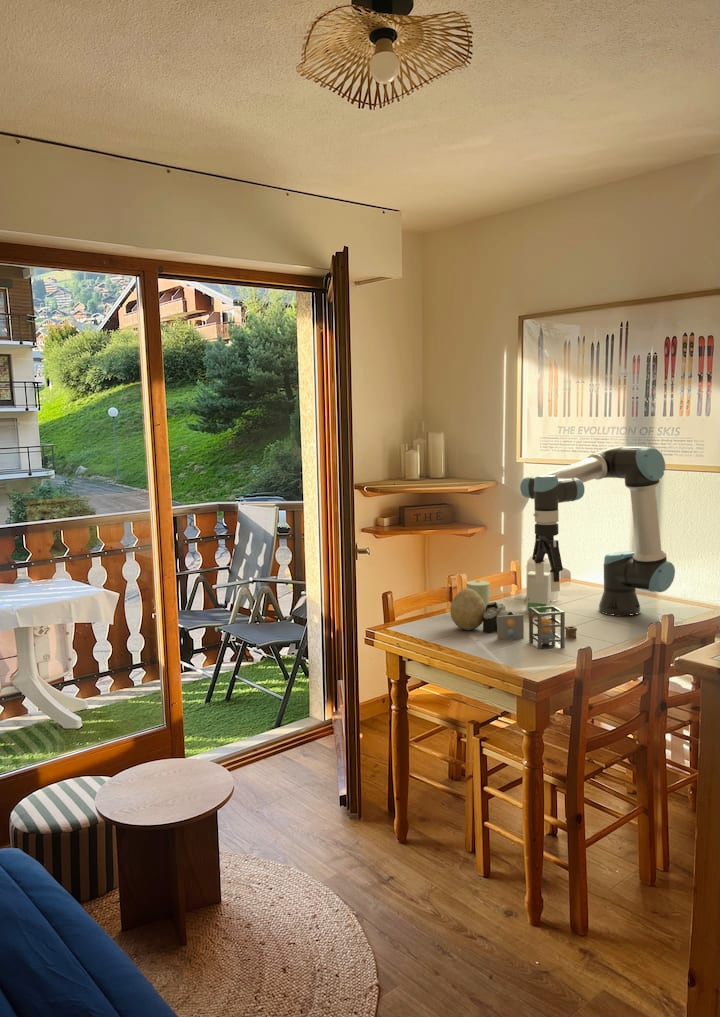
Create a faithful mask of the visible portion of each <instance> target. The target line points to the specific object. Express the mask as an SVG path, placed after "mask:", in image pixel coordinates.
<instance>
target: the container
mask: <svg viewBox="0 0 720 1017" xmlns="http://www.w3.org/2000/svg"><path fill="white" fill-rule="evenodd" d="M532 557H533V554H531V555H530V557H529V558H528V560H527V564H526V570H525V571H526V575H527V574H528V573H529V572H530V571H535V562H534V560H533V559H532ZM543 560H544V562H541V563H544V572H546V573H550V601H553V600H557V599H558V598H559V599H560V591H556V592H551V572H550V570H551V566H550V562H549V559H548V555H547V554H546V553H545V556H544V559H543Z"/></svg>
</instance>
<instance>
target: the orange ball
mask: <svg viewBox="0 0 720 1017" xmlns="http://www.w3.org/2000/svg"><path fill="white" fill-rule="evenodd" d="M547 618H548V617H542V625H548V624H552V622H551V621H550V620H549V619H547ZM536 628H537V629H538V627H537V626H536ZM551 630H552V627H548V628H542V633H548V632H550V631H551Z"/></svg>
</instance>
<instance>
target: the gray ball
mask: <svg viewBox="0 0 720 1017" xmlns="http://www.w3.org/2000/svg"><path fill="white" fill-rule="evenodd" d="M547 639H553V633H552V632H551V631H550V632H548V633H542V640H547ZM549 643H551V642H548V643H543V644H549Z"/></svg>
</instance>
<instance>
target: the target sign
mask: <svg viewBox="0 0 720 1017" xmlns="http://www.w3.org/2000/svg"><path fill="white" fill-rule="evenodd" d="M524 616H525V615H524V614H521V613H520V614H513V615H505V616H497V631H496V632H497V636H496V639H497V640H498V641H512V640H513V641H514V640H525V637H524V636H525V635H524V633H525V632H524V631H525V630H524V623H525V622H524Z"/></svg>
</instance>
